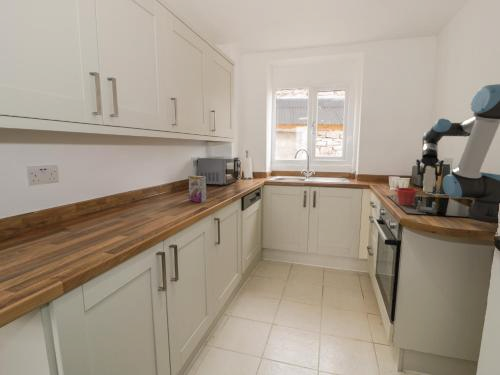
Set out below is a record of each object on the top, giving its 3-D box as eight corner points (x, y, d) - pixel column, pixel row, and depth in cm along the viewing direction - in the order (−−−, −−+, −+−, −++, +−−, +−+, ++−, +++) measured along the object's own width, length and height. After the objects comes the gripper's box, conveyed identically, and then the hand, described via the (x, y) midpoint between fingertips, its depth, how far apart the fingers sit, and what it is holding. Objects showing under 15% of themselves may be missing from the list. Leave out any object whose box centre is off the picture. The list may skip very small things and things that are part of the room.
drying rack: (434, 210, 153) (435, 201, 152) (436, 213, 146) (437, 204, 146) (416, 208, 157) (417, 200, 156) (416, 211, 151) (417, 202, 150)
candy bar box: (188, 200, 175) (187, 175, 173) (194, 199, 179) (193, 175, 177) (201, 203, 169) (200, 177, 167) (206, 201, 173) (206, 176, 171)
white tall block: (431, 190, 152) (434, 167, 150) (432, 192, 147) (435, 168, 145) (422, 189, 154) (425, 167, 152) (423, 191, 149) (426, 168, 147)
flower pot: (419, 206, 163) (421, 190, 162) (401, 206, 163) (402, 190, 162) (409, 202, 174) (410, 187, 172) (392, 202, 174) (393, 187, 172)
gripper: (446, 157, 157) (446, 190, 145) (412, 156, 165) (410, 187, 153) (448, 148, 151) (449, 181, 140) (413, 148, 159) (411, 179, 148)
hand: (429, 184), depth 147 cm, fingers closed on white tall block, 4 cm apart
